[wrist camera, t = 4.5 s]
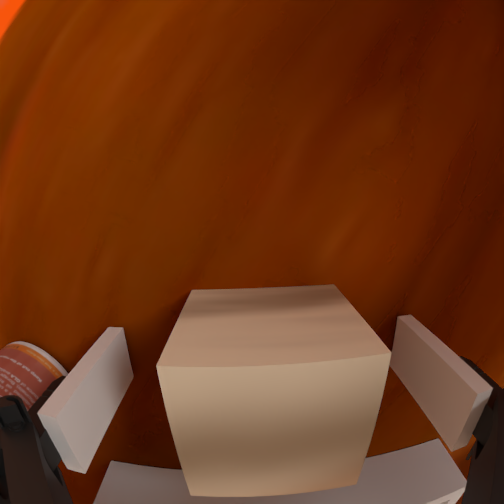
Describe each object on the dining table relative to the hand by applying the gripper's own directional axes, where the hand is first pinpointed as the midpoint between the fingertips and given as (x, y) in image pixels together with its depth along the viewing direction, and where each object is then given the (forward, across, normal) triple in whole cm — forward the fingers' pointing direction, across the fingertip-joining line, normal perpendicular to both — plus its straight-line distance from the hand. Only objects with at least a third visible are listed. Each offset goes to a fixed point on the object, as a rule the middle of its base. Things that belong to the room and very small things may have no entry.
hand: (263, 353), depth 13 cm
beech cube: (0, 0, 0) cm, 0 cm away
